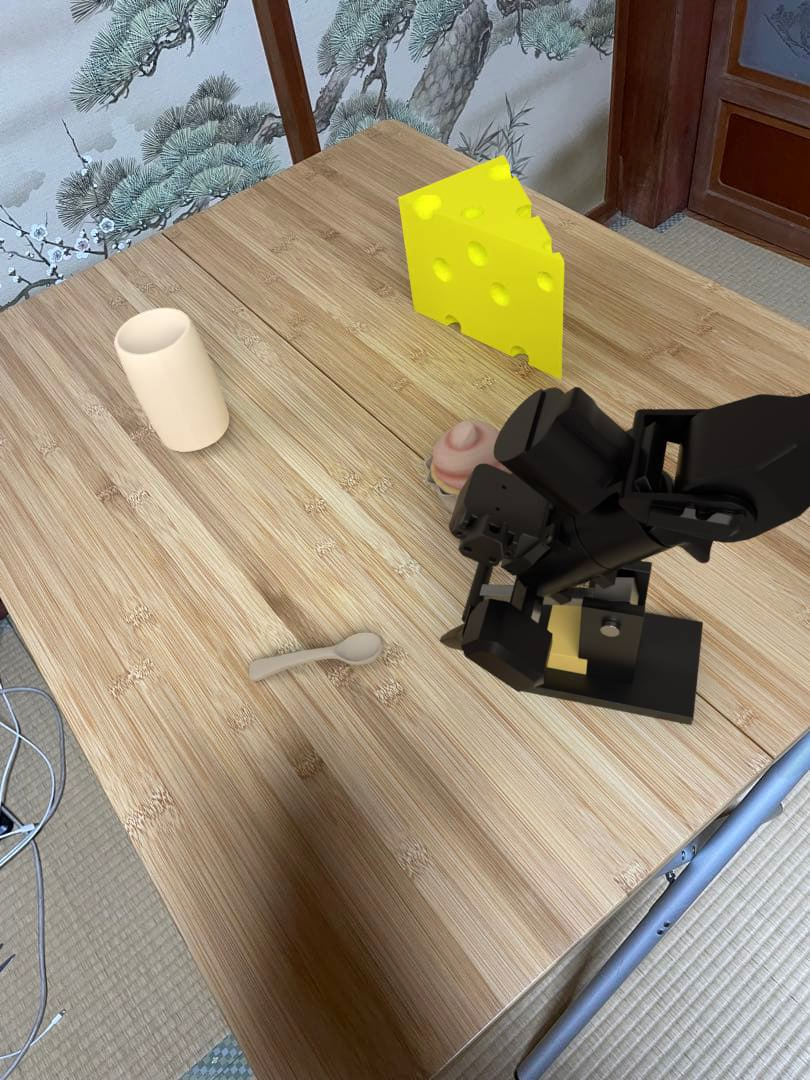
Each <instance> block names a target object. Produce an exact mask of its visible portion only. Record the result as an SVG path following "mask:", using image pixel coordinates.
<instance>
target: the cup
mask: <svg viewBox="0 0 810 1080" xmlns="http://www.w3.org/2000/svg"><path fill="white" fill-rule="evenodd" d="M113 345H114V349H115V351H116V353H117V357H118V359H119V362H120V364H121V367H122V368H123V372H124V374H125V376H126V378H127V380H128V382H129V384H130V386H131V388H132V390H133V393H134V394H135V396H136V398H137V400H138V402H139V405H140V406H141V407H142V409H143V412H144V413H145V415H146V417H147V419H148V420H149V422H150V424H151V426H152V427H153V429H154V431H155V432H156V434H157V436H158V437H159V439H160V440H161V442H162V443H163V445H165V447H166V448H168V449H170V450H173V451H175V452H181V453H186V452H188V453H189V452H195V451H199V450H202V449H205V448H208V447H209V446H211V445H213V444H215V443H216V442H218V441H219V440H220V439H221V438H222V437H223V435H224V434H225V433H226V431H227V430H228V428H229V424H230V414H229V409H228V407H227V402H226V399H225V397H224V394H223V390H222V388H221V385H220V382H219V379H218V376H217V374H216V370H215V369H214V368H215V367H214V366H213V363H212V361H211V358H210V356H209V354H208V352H207V349H206V347H205V344H204V343H203V340H202V338H201V336H200V334H199V333H198V330H197V328H196V327H195V324H194V323H193V320H192V318H190V316H189V315H188V314H187V313H186V312H184V311H183V310H180V309H177V308H173V307H157V308H152V309H148V310H145V311H143V312H140V313H138V314H136V315H134V316H132V317H130V318H129V319H127V320H126V321H125V322H124V323H123V324H122V325H121V326H120V328H118V330H117V332H116V334H115V337H114V341H113Z"/></svg>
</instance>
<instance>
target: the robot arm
mask: <svg viewBox="0 0 810 1080" xmlns="http://www.w3.org/2000/svg"><path fill="white" fill-rule="evenodd" d="M632 422H633V423H632V427H631V428H629V429H627V430H625V429H623V427H621V426H620V425H619V424H618V423H617V422H616V421H614V420H613V419H612V418H611V417H610V416H609V415H608V414H606V412H604V411H603V410H602V409H601V407H599V406H598V404H597V403H596V402H595V400H594V399H593V398H592V397H591V396H590V395H589V394H588V393H587V392H586V391H584V390H583V389H582V388H581V387H579V386H574V387H572V388H571V389H569V390H568V391H566V392H564V391H563V390H562V389H561V388H559V387H557V386H555V387H549V388H546V389H542V388H538V389H537V390H536V391H534V392H533V393H532V394H530V395H529V396H528V397H527V398H525V399H524V400H523V401H522V402H521V403H520V404H519V405H518V406H517V407H516V408H515V409H514V410H513V412H512V413H511V414H510V416H509V417H508V418H507V419H506V421H505V422H504V424H503V426H502V427H501V429H500V430H499V435H498V437H497V439H496V442H495V445H494V452H493V453H494V458H495V459H496V460H497V461H498V462H500V463H501V464H502V465H503V466H505V467H506V468H507V469H508V470H510V471H511V472H512V473H511V474H510V473H507V472H505V471H503V470H501V469H498V468H496V467H494V466H492V465H489V464H484V463H483V464H479V465H477V466H476V467H475V468H474V470H473V471H472V473H471V475H470V476H469V478H468V479H467V481H466V483H465V484H464V486H463V488H462V489H461V491H460V493H459V495H458V499H457V502H456V505H455V508H454V511H453V514H451V516H450V518H449V521H448V530H449V532H450V534H451V535H452V536H453V537H454V538H455V539H458V540H459V546H458V551H459V553H460V555H461V556H463V557H465V558H466V559H468V560H469V559H470V560H471V561H474V562H476V563H477V564H478V563H481V564H483V565H485V566H488V567H493V568H494V567H498V566H499V565H500V568H501V569H503V570H504V571H505V572H507V573H508V574H509V575H511V576H513V577H515V579H514V584H513V585H514V587H513V591H512V594H511V598H510V602H508V601H502V600H496V599H491V598H489V599H487V600H485V601H482V602H480V603H479V604H478V605H477V607H476V608H475V607H474V606H473V605H470V607H469V610H468V614H467V617H466V620H465V623H464V622H463V623H462V624H460V625H458V626H455V627H454V628H452V629H450V630H449V631H447V632H445V633H444V634H442V635H441V636H440V637H439V642H440V643H441V644H442V645H444V646H445V647H447V648H448V649H453V650H456V651H461V652H462V653H463V655H464V657H465V658H466V659H468V660H469V661H471V662H472V663H474V664H475V665H477V666H478V667H479V668H482V670H484V671H486V672H487V673H489V674H490V675H492V676H493V677H495V678H496V679H498V680H499V681H500V682H503V683H504V684H505V685H506V686H508V687H509V688H511V689H513V690H514V691H516V692H517V693H520V692H523V691H524V690H527V689H530V688H534V687H536V686H539V685H541V684H544V679H545V675H546V670H547V666H548V661H549V657H550V652H551V648H552V642H553V633H551V632H550V631H548V630H547V629H546V628H544V627H543V626H541V625H540V624H539V619H540V615H541V610H542V606H543V602H544V598H545V597H547V596H549V597H551V598H552V599H553V600H555V601H556V602H557V603H559V604H560V605H563V604H566V603H569V602H571V600H572V596H573V591H574V587H579V586H581V585H584V584H586V583H589V581H591V580H593V581H594V582H595V583H597V584H598V585H599V586H600V587H602V588H603V589H605V588H608V587H611V586H613V585H615V581H616V576H617V570H619V569H621V568H624V567H626V566H629V565H631V564H634V563H636V562H639V561H645V560H646V559H649V558H652V557H653V556H657V555H658V554H661V553H664V552H666V551H669V550H672V549H674V548H676V547H680V548H681V549H683V550H684V551H685V552H686V553H687V554H688V555H690V557H692V558H693V559H695V560H696V561H697V563H700V564H708V563H709V562H710V559H711V552H712V546H713V544H714V542H716V543H717V542H718V543H724V544H729V543H730V544H731V543H733V544H734V543H739V542H743V541H749V540H751V539H755V538H756V537H758V536H762V535H763V534H765V533H767V532H770V531H771V530H774V529H776V528H778V527H780V526H783V525H785V524H786V523H789V522H791V521H793V520H796V519H797V518H800V517H801V516H802V515H803V514H805V512H807V510H809V509H810V392H808V393H806V394H802V395H797V396H793V395H782V394H771V393H770V394H769V393H759V394H755V395H752V396H748V397H744V398H741V399H738V400H737V399H736V400H734V401H731V402H728V403H724V404H720V405H717V406H713V407H710V408H639V409H637V410H635V411H634V416H633V421H632ZM668 443H672V444H674V445H675V444H676V445H679V447H678V453H677V459H676V468H675V476H674V477H673V476H672V475H671V474H670V473H668V472H667V471H666V470H664V465H665V459H666V453H667V452H666V451H667V446H668Z"/></svg>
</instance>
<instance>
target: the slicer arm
mask: <svg viewBox="0 0 810 1080" xmlns="http://www.w3.org/2000/svg"><path fill="white" fill-rule="evenodd" d="M493 572H494V567H488V566H485V565H483V564H481V563H478V562H477V565H476V569H475V572H474V576H473V579H472V583H471V585H470V588H469V592H468V595H467V598H466V599H467V600H466V602H465V605H464V609H463V612H462V615H461V622H463V623H465V620H466V617H467V614H468V610H469V607H470V605H473V606H474V607H475V608H476V607H477V605H478V604H479V603H480V602H482V601H485V600H487V599H489V598H491V599H496V600H502V601H508V602H510V598H511V594H512V591H513V587H514V584H490V583H491V578H492V575H493ZM584 596H586V597H592V598H598V599H604V600H610V601H616V602H622V603H628V604H634V605H637V604H638V598H639V596H638V592H637V588H636V583H635V579H634V578H632V577H616V581H615V585H613V586H611V587H608V588H605V589H603V588H602V587H600V586H599V585H598V584H597V583H595V587H594V588H588V587H579V586H576V587H574V591H573V596H572V600H571V602H569V603H566V604H563V605H566V606H582V601H583V597H584ZM543 605H560V604H559V603H557V602H556V601H555V600H553V599H552V598H551V597H549V596H547V597H545V598H544V602H543Z"/></svg>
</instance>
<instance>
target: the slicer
mask: <svg viewBox="0 0 810 1080" xmlns="http://www.w3.org/2000/svg"><path fill="white" fill-rule="evenodd" d="M652 567H653V562H652V561H646V560H641V561H639V562H636V563H634V564H631V565H629V566H626V567H624V568H621V569H619V570H617V576H616V577H632V578H634V579H635V583H636V588H637V592H638V596H639V598H638V604H637V605H634V604H628V603H622V602H616V601H610V600H604V599H598V598H592V597H586V596H584V597H583V601H582V606H581V620H580V636H579V651H578V658H579V659H584V660H587V668H586V674H581V673H575V672H570V671H565V670H560V669H554V668H549V667H547V670H546V675H545V679H544V684H541V685H539V686H536V687H534V688H530V689H527V690H524V691H522V692H524V693H529V694H534V695H539V696H543V697H549V698H554V699H558V700H563V701H568V702H572V703H578V704H583V705H589V706H592V707H593V706H594V707H597V708H602V709H603V708H605V709H608V710H614V711H618V712H624V713H628V714H632V715H633V714H634V715H639V716H642V717H643V716H644V717H649V718H652V719H657V720H664V721H668V722H672V723H677V724H678V723H679V724H683V725H688V726H692V725H693V722H694V717H695V709H696V697H697V686H698V678H699V677H698V676H699V669H700V668H699V667H700V658H701V657H700V656H701V648H702V636H703V627H704V622H703V621H700V620H695V619H688V618H683V617H675V616H671V615H665V614H658V613H652V612H647V611H646V604H647V603H646V602H647V596H648V591H649V585H650V579H651V572H652ZM594 587H595V582H594V581H593V580H591V581H589V582H588V586H587V588H594ZM552 606H553V605H543V606H542V610H541V615H540V619H539V624H540V625H541V626H543V627H544V628H546V629H547V628H548V624H549V619H550V615H551V611H552Z"/></svg>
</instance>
